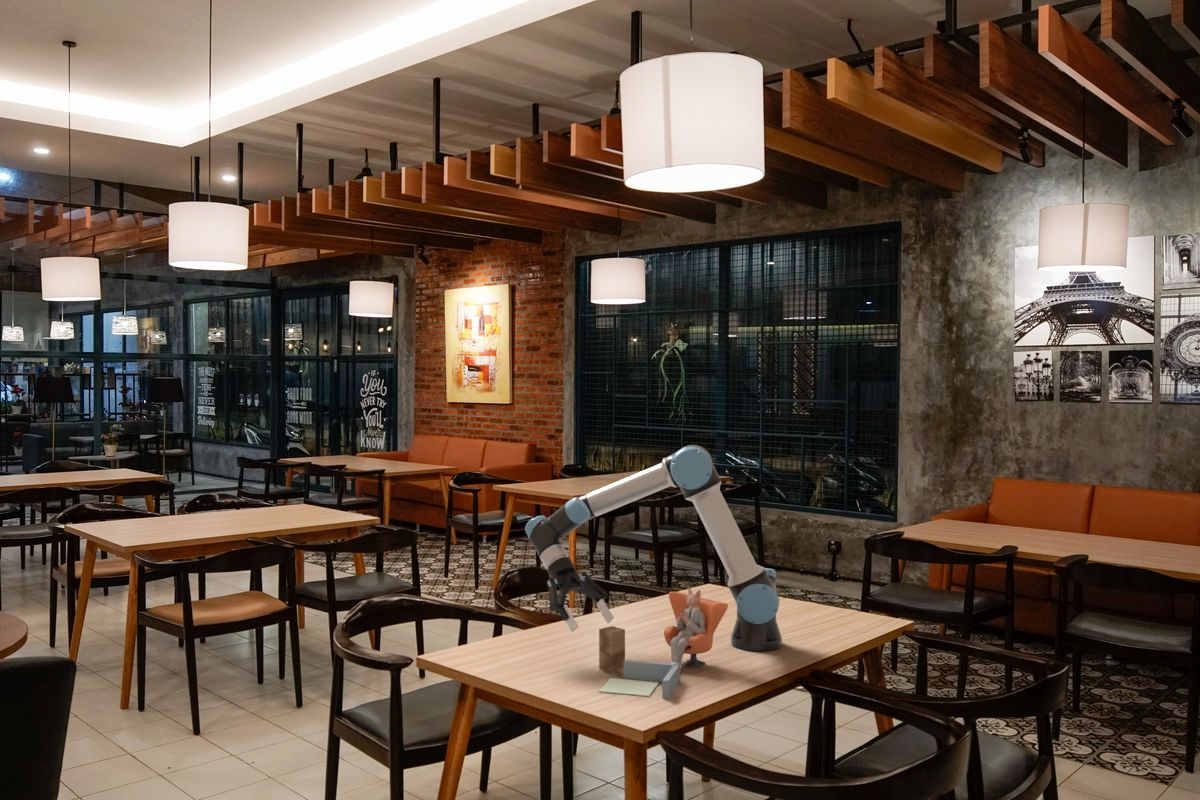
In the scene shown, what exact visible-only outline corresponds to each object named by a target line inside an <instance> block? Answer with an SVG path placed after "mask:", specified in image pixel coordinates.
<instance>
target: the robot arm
mask: <svg viewBox="0 0 1200 800" xmlns="http://www.w3.org/2000/svg"><path fill="white" fill-rule="evenodd" d="M721 484H722V480H721V477H720V476H719V473H718V471H717V470H716V467H715V465H714V463H713V458H712V456H711V454H710V452H709V451H708V450H707V449H706V448H705V447H703V446H701V445H698V444H688V445H685V446H682V447H681V448H680V449H679V450H677V451H676V452H674V453H672V454H670V455H668V456H666V457H663V458H662V460H661V463H658V464H656V465H653V466H650V467H649V468H646V469H644V470H641V471H638V472H636V473H634V474H631V475H630V476H627V477H624V478H622V479H620V480H617V481H615V482H612V483H610V484H608V485H605V486H603V487H601V488H598V489H595V490H594V491H590V492H589V493H587V494H584V495H581V496H579V497H578V496H577V497H576V496H575V497H573V498H572V499H570V500H568V501H567V502H566V503H564V504H563V505H562V506H561V507H560V508H558V509H557V510H555V511H554V512H553V513H552V514H551V515H550V516H548V517H546V516H545V515H538V516H535V517H534V518H531V519H530V520H528V522H527V523H526V524H525V527H524V530H525V534H526V535H527V537H528V540H529V542H530V543H531V545H532V546H533V549H534V551H536V553H537V556H538V557H539V559H540V561H541V562H542V564H543V566H544V567H545V570H546V571H547V573H548V575H549V576H550V578H549V579H548V580H547V582H546V586H547V589H548V594H549V595H548V596H549V597H548V598H549V606H550V607H549V608H550V609H549V610H550V611H551V612H554V613H555V614H556V615H558V614H559V615H560V616H561V619H562V620H563V621H564V622H566V624H567V626H568V629H569V631H570V632H571V633H573V632H574V631H576V629H577V628H578V627H579V624H578V623H577V621H576V619H575V618H574V616H573V614H572V612H571V610H570V609H569V607H568V606H566V605H565V603H566V600H567V599H566V598H567V593H570V592H577V593H581V594H583V595H584V596H585V597H588V598H590V599H591V600H593V601H594V602H596V607H597V608H598V610H599V612H600V614H601V616H602V617H603V619H604V620H605V622H606V624H610V623H611V622H612V620H614V616H613V613H612V612H611V610H610V606H609V604H608V603H607V601H606V599H607V597H608V596H609V594H608V592H606V591H605V590H604V589H603V588H602V587H600V585H599V584H597V583H596V582H595V581H594V580H593V579H591V578H590V576H589V575H588V573H586V571H582V573H580V574H578V573H577V572H576V567H575V565H574V563H573V561H572V559H571V558H570V557H569V554H568V552H567V551H566V549H565V548H564V546H563V544H562V542H561V540H562V539H563V538H565V537H566V536H567V535H569V534H570V533H571V532H573V531H574V530H576V529H577V528H578V527H579V526H580V525H583V524H584V523H585V522H587V521H589V520H592V519H594V518H596V517H599V516H602V515H604V514H606V513H609V512H611V511H613V510H616V509H619V508H621V507H623V506H625V505H628V504H631V503H633V502H636V501H637V500H640V499H643V498H645V497H647V496H650V495H652V494H655V493H657V492H661V491H662V490H665V489H667V488H669V487H673V488H678V487H679V489H680V491H681V493H682V495H683V497H684V499H685V500H686V501H690V502H692V504H693V506H694V508H695V510H696V512H697V514H698V516H699V518H700V521H701V522H702V524H703V526H704V527H705V530H706V532H707V535H708V536H709V538H710V540H711V542H712V545H713V547H714V548H715V551H716V553H717V555H718V556H719V559H720V560H721V562H722V564H723V567H724V569H725V572H726V573H727V575H728V578H729V579H728V581H727V583H726V585H727V586H728V589H729V591H730V593H731V595H732V598H733V600H734V601H735V604H736V620H735V623H734V627H733V630H732V633H731V636H730V645H732V646H733V647H735V648H737V649H741V650H744V651H755V652H756V651H757V652H766V651H773V650H774V651H775V650H777V649H780V648H782V646H783V638H782V634H781V631H780V628H779V625H778V622H777V621H778V620H777V612H778V611H779V608H780V598H779V594H778V592H777V591H778V590H777V579H778V578H777V574H776V573H777V572H776V570H775V569H773V568H767V567H764V566H761V565H759V564H757V563H756V561H755V559H754V556H753V555H752V553H751V551H750V548H749V546H748V544H747V542H746V541H745V538H744V536H743V533H742V532H741V530H740V528H739V526H738V524H737V522H736V520H735V518H734V516H733V514H732V511H731V510H730V507H729V505H728V503H727V502H726V498H724V496H723V494H722V491H721V490H720V489H721ZM557 587H558V588H559V590H558V589H557Z"/></svg>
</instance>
